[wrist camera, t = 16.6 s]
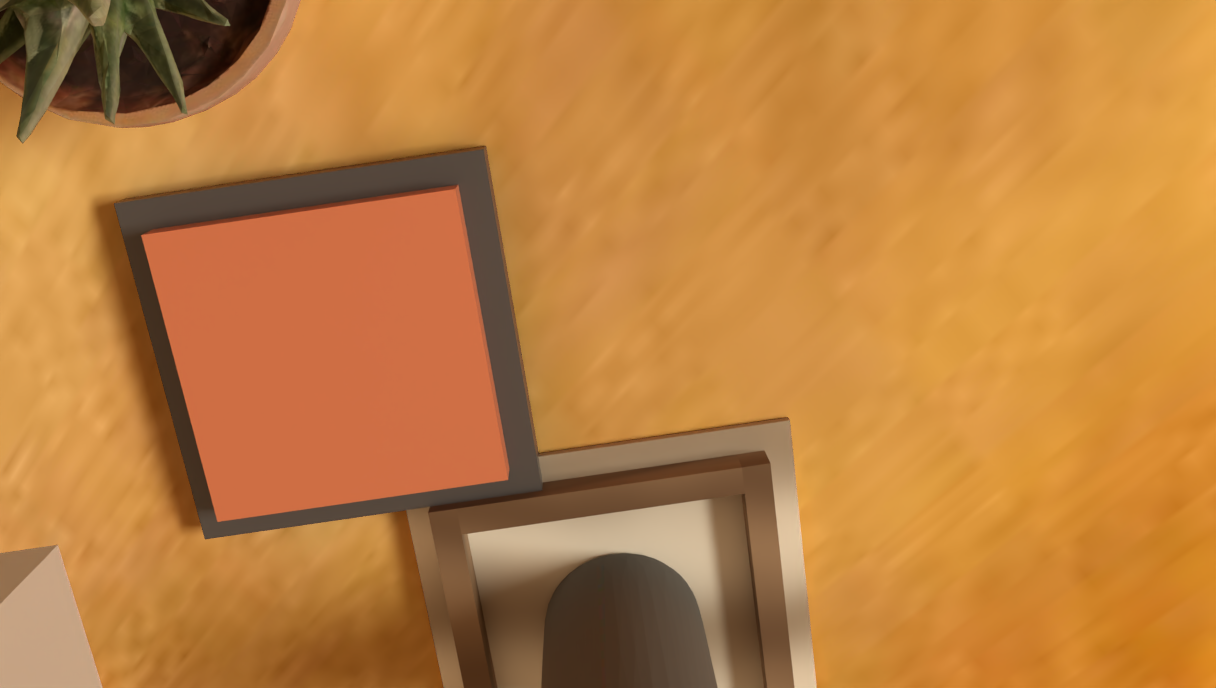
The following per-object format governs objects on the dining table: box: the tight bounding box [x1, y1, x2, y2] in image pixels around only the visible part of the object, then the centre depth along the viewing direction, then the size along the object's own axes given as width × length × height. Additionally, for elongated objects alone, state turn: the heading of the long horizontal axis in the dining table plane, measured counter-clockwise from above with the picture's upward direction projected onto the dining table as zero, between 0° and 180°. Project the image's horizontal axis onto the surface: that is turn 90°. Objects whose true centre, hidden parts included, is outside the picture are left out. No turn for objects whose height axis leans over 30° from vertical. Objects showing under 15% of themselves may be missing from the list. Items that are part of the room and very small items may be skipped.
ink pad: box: [114, 146, 543, 539], centre depth 37 cm, size 12×12×2 cm
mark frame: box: [406, 417, 817, 688], centre depth 41 cm, size 14×14×2 cm
